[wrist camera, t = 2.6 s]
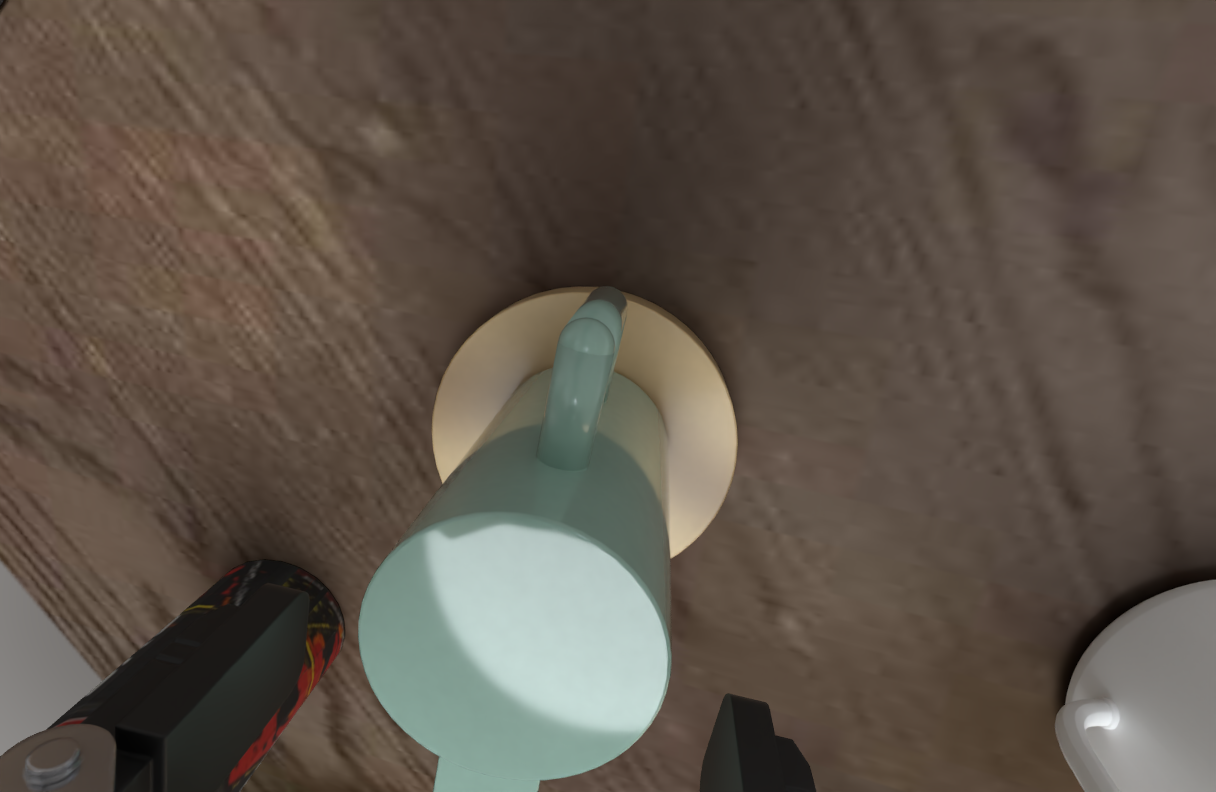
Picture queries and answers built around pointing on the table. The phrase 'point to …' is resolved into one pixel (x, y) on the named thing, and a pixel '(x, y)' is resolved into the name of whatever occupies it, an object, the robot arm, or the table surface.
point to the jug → (535, 580)
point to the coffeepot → (1147, 699)
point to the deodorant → (235, 590)
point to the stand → (647, 356)
